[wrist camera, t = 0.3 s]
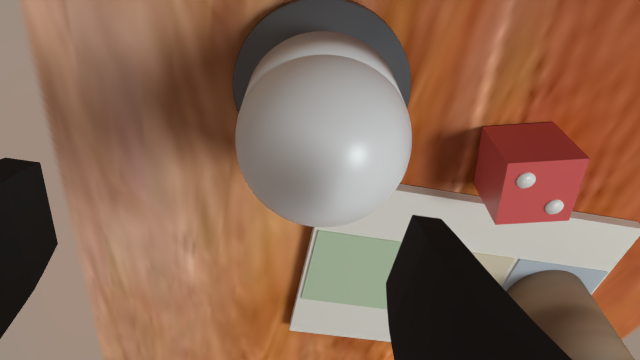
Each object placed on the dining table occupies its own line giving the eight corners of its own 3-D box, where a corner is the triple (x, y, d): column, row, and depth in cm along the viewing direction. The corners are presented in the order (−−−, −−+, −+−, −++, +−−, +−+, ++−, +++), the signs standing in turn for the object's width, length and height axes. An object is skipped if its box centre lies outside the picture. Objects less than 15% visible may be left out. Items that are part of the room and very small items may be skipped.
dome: (374, 175, 18) (394, 276, 13) (241, 154, 17) (214, 251, 13) (417, 44, 15) (461, 115, 10) (256, 13, 14) (227, 73, 10)
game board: (535, 350, 28) (539, 360, 27) (289, 321, 26) (289, 331, 25) (637, 221, 22) (646, 230, 21) (326, 172, 20) (326, 180, 19)
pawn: (558, 327, 25) (624, 445, 20) (488, 318, 25) (536, 437, 19) (599, 275, 23) (687, 395, 17) (523, 265, 22) (589, 384, 17)
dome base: (381, 171, 20) (383, 178, 19) (229, 147, 19) (226, 153, 19) (432, 16, 16) (436, 20, 15) (243, -23, 15) (241, -20, 15)
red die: (537, 179, 20) (570, 221, 18) (473, 183, 20) (495, 225, 18) (553, 122, 18) (590, 159, 16) (482, 126, 19) (509, 164, 16)
